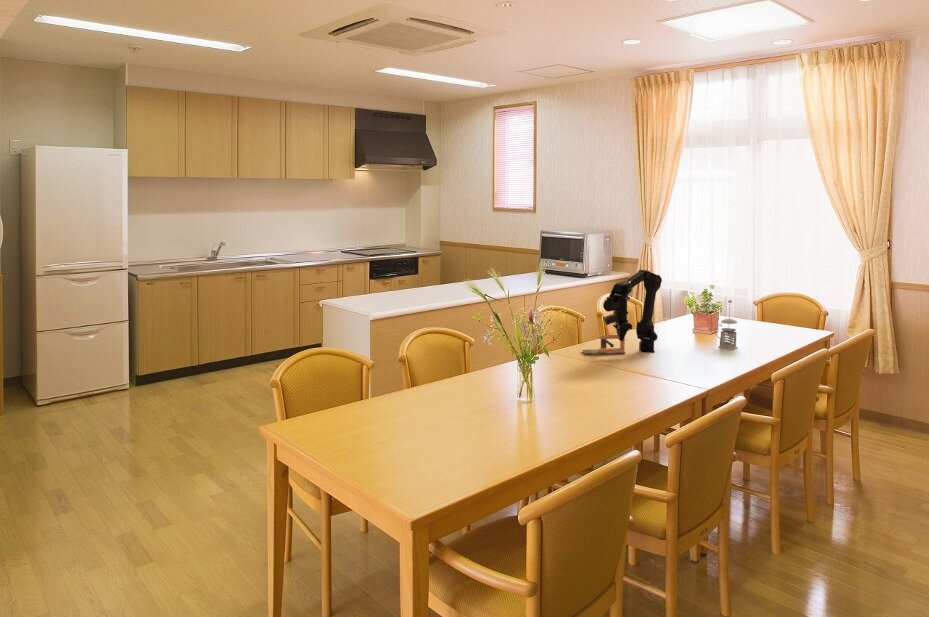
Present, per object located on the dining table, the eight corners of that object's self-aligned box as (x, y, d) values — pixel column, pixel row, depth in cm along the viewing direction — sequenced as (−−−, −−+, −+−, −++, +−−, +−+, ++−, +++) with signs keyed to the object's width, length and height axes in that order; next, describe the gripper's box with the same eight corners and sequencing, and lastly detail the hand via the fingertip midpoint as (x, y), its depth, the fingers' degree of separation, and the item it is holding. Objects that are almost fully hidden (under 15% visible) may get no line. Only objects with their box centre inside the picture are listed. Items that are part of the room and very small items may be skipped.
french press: (739, 350, 360) (742, 301, 356) (716, 349, 362) (718, 301, 358) (735, 345, 369) (738, 298, 365) (712, 345, 371) (714, 298, 367)
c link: (623, 350, 347) (623, 334, 345) (624, 351, 344) (624, 335, 343) (598, 351, 346) (599, 335, 345) (600, 352, 344) (600, 336, 342)
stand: (620, 351, 361) (621, 335, 360) (632, 360, 340) (632, 343, 339) (582, 352, 360) (582, 335, 359) (591, 361, 339) (591, 344, 338)
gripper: (600, 306, 351) (599, 337, 353) (609, 312, 332) (609, 345, 335) (622, 305, 351) (621, 336, 354) (632, 312, 333) (632, 344, 335)
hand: (620, 340), depth 345 cm, fingers closed on c link, 2 cm apart
